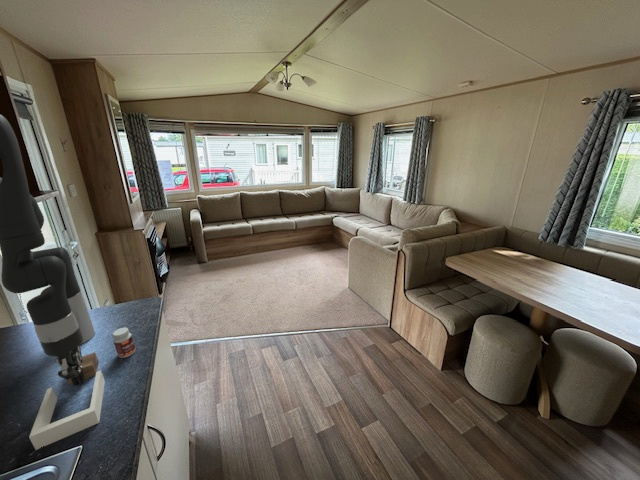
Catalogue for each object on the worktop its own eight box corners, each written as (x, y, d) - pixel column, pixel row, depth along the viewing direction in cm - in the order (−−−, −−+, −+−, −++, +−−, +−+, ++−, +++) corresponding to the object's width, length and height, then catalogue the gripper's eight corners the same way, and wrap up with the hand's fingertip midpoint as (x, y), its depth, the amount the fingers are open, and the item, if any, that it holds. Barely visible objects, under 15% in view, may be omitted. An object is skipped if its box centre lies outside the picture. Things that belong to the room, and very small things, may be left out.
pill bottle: (126, 359, 83) (120, 337, 80) (114, 357, 84) (107, 335, 81) (139, 348, 87) (133, 327, 85) (127, 346, 88) (121, 325, 86)
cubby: (52, 400, 70) (47, 389, 68) (104, 381, 75) (100, 370, 74) (35, 449, 58) (29, 437, 57) (99, 422, 64) (94, 410, 62)
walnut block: (73, 371, 79) (69, 360, 78) (99, 362, 82) (95, 352, 81) (69, 385, 74) (64, 374, 73) (96, 375, 78) (92, 364, 76)
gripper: (46, 323, 71) (67, 373, 77) (30, 353, 61) (56, 408, 67) (82, 314, 75) (99, 362, 81) (73, 340, 65) (94, 393, 70)
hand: (79, 383), depth 74 cm, fingers closed
